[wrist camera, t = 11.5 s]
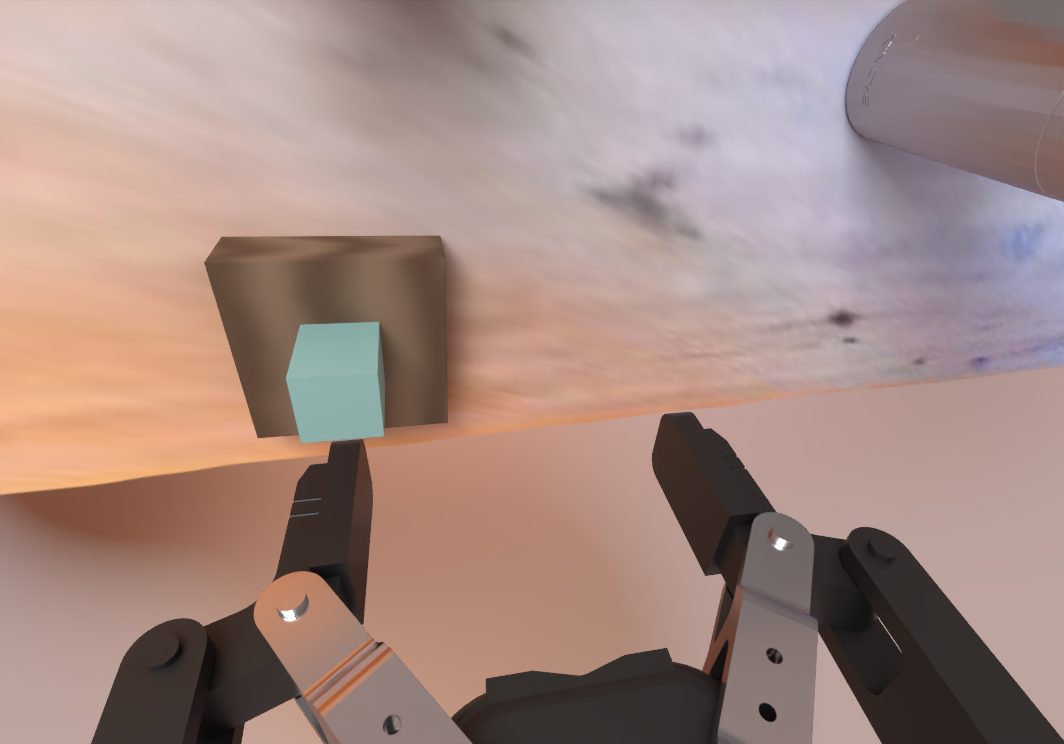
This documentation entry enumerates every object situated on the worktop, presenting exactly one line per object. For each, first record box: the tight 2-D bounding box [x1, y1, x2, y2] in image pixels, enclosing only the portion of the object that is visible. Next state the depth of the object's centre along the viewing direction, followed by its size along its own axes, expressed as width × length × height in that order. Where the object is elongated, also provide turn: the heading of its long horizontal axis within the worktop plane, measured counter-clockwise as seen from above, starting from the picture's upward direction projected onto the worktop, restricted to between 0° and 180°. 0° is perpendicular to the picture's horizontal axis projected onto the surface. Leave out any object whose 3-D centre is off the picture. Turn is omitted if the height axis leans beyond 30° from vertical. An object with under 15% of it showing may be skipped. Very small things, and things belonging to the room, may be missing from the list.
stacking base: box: [204, 236, 448, 438], centre depth 38 cm, size 14×14×4 cm
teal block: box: [286, 322, 385, 443], centre depth 34 cm, size 5×5×6 cm
